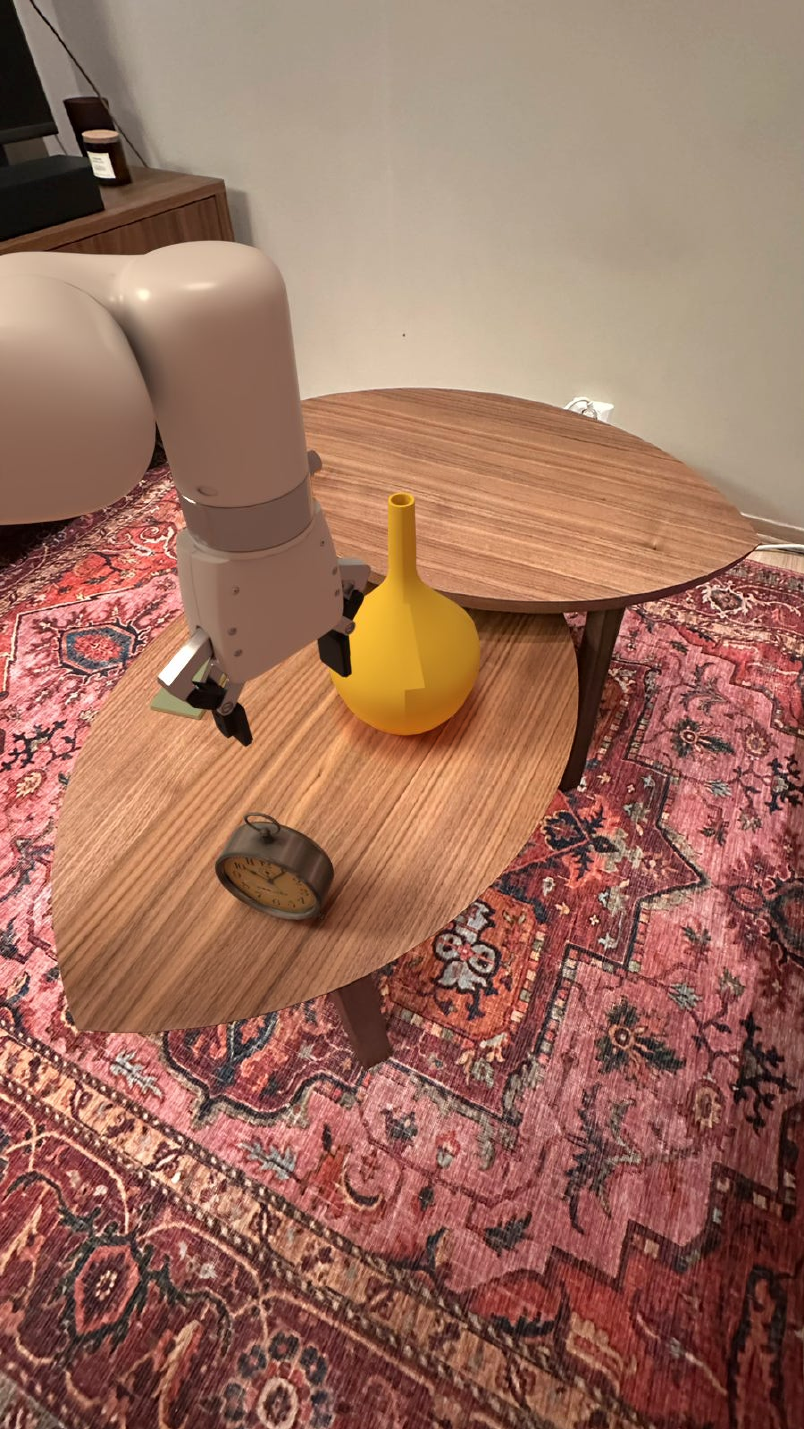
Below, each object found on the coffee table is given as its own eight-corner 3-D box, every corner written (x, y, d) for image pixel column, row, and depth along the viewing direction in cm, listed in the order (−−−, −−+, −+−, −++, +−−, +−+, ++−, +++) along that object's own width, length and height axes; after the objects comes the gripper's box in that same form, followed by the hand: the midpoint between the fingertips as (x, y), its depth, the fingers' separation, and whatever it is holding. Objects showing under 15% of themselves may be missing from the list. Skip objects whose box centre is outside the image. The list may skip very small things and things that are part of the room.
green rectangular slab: (199, 720, 88) (198, 716, 87) (151, 709, 89) (149, 705, 88) (242, 652, 96) (241, 648, 95) (197, 643, 97) (195, 639, 97)
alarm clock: (227, 908, 71) (188, 823, 58) (250, 863, 74) (217, 774, 62) (326, 937, 68) (307, 855, 56) (345, 889, 72) (330, 803, 60)
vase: (306, 726, 87) (268, 521, 64) (380, 639, 97) (369, 437, 75) (434, 783, 81) (441, 579, 58) (498, 684, 91) (525, 479, 69)
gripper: (319, 428, 45) (340, 623, 58) (79, 538, 38) (165, 736, 50) (399, 468, 42) (402, 667, 55) (152, 598, 34) (224, 795, 47)
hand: (288, 699), depth 53 cm, fingers open, 9 cm apart
